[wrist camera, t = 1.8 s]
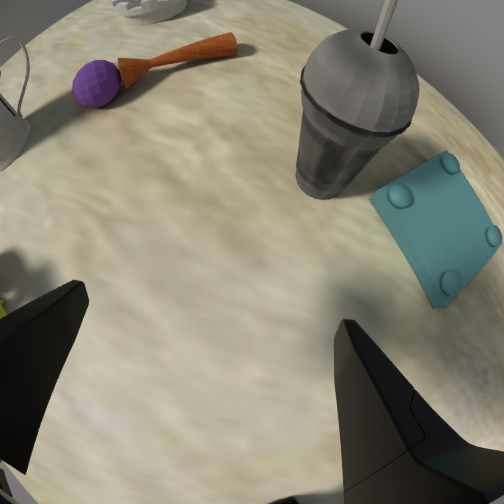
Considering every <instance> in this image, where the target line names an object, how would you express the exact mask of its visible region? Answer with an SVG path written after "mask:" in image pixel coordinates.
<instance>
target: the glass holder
mask: <svg viewBox="0 0 504 504" xmlns="http://www.w3.org/2000/svg"><path fill="white" fill-rule="evenodd" d="M10 39H15V40H17V41H18V42H19V43H20V44H21V46H22V49H23V51H24V54H25V58H26V77H25V81H24V85H23V89H22V93H21V96H20V100H19V104H18V110H17V111H18V113H17V112H16V111H15V110H14V109H13V107H12V106H11V105H10V104H9V103H8V102H7V100H6V99H5V98H4V97H3V96H2V95H1V93H0V171H2V170H4V169H6V168H7V167H8V166H9V165H10V164H11V163H12V162H13V161H14V160H15V159H16V158H17V157H18V155H19V154H20V153H21V151H22V150H23V148H24V146H25V144H26V142H27V140H28V138H29V135H30V131H31V124H30V122H29V121H28V120H26V119H23V118H21V117H23V116H22V114H21V113H20V109H21V104H22V100H23V96H24V93H25V89H26V85H27V82H28V78H29V69H30V65H29V57H28V53H27V49H26V47H25V45H24V44H23V42H22V41H21V40H20V39H19V38H17V37H14V36H12V37H8V38H6V39H4V40H2V41H1V42H0V45H1V44H2V43H4V42H5V41H7V40H10ZM0 76H1V71H0Z"/></svg>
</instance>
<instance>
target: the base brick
mask: <svg viewBox="0 0 504 504" xmlns="http://www.w3.org/2000/svg"><path fill="white" fill-rule="evenodd" d="M369 200H370V202H371V203H372V205H373V206H374V208H375V209H376V211H377V212H378V214H379V215H380V217H381V218H382V220H383V221H384V223H385V225H386V226H387V228H388V229H389V231H390V232H391V234H392V236H393V237H394V239H395V240H396V242H397V244H398V245H399V247H400V249H401V250H402V252H403V254H404V255H405V257H406V259H407V261H408V262H409V264H410V266H411V268H412V269H413V271H414V273H415V275H416V276H417V278H418V280H419V282H420V284H421V286H422V288H423V289H424V291H425V293H426V295H427V297H428V299H429V301H430V303H431V305H432V307H433V309H436V308H442V307H446V306H447V305H448V304H449V303H450V302H451V301H452V300H453V299H454V298H455V297H456V296H457V295H458V294H459V293H460V292H461V291H462V290H463V289H464V288H465V287H466V285H467V284H468V283H469V282H470V281H471V280H472V279H473V278H474V277H475V276H476V274H477V273H478V272H479V271H480V270H481V269H482V268H483V266H484V265H485V264H486V263H487V262H488V260H489V259H490V258H491V257H492V256H493V254H494V253H495V252H496V251H497V249H498V248H499V247H500V246H501V244H502V235H501V232H500V230H499V228H498V227H497V226H496V225H493V223H492V221H491V219H490V217H489V215H488V214H487V212H486V210H485V208H484V206H483V205H482V203H481V201H480V200H479V198H478V196H477V195H476V193H475V191H474V190H473V188H472V187H471V185H470V183H469V182H468V180H467V179H466V177H465V176H464V174H463V173H462V171H461V170H460V165H459V162H458V160H457V158H456V157H455V156H454V155H452V154H451V153H448V151H447V150H446V151H444V152H443V153H441V154H439V155H438V156H436V157H434V158H432V159H431V160H429V161H427V162H425V163H424V164H422V165H420V166H419V167H417V168H415V169H413V170H412V171H410V172H408V173H406V174H405V175H403V176H401V177H399V178H398V179H396V180H394V181H392V182H391V183H389V184H387V185H385V186H384V187H382V188H380V189H378V190H377V191H376V192H375V193H374V194H373V195H372V197H371V198H370V199H369Z"/></svg>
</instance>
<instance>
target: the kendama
mask: <svg viewBox="0 0 504 504" xmlns="http://www.w3.org/2000/svg"><path fill="white" fill-rule="evenodd" d="M236 53H237V42H236V38H235V36H234V35H233V33H231V32H229V33H226V34H222V35H218V36H215V37H211V38H208V39H205V40H202V41H199V42H195V43H192V44H189V45H187V46H184V47H181V48H178V49H175V50H173V51H170V52H167V53H165V54H162V55H160V56H157V57H155V58H152V59H150V60H146V59H129V58H118V66H119V70H118V69H117V67H116V66H115V65H114V64H113V63H111V62H108V61H106V60H95V61H92V62H90V63H88V64H86V65H85V66H83V67H82V68H81V69H80V70H79V71H78V73H77V74H76V76H75V78H74V80H73V89H72V92H73V96H74V98H75V99H76V100H77V101H78V102H79V104H80V105H83V106H86V107H88V108H95V107H101V106H103V105H105V104H108V103H109V102H110V101H111V100H112V99H113V98H114V97H115V96H116V94H117V92H118V91H119V89H120V84H121V79H122V81H123V83H124V85H125V87H126V89H127V88H128V87H129V86H130V85H132V84H133V83H134V82H135V81H136V80H137V79H138V78H140V77H141V76H142V75H143V74H144V73H146V72H147V71H148V70H149V69H150V68H152V67H157V66H162V65H167V64H173V63H179V62H185V61H191V60H198V59H206V58H214V57H224V56H235V55H236Z"/></svg>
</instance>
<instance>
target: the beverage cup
mask: <svg viewBox="0 0 504 504" xmlns="http://www.w3.org/2000/svg"><path fill="white" fill-rule="evenodd" d="M397 2H398V0H386V1H385V4H384V7H383V10H382V13H381V16H380V19H379V22H378V25H377V28H376V31H375V32H374V31H370V30H365V29H349V30H344V31H341V32H338V33H335V34H333V35H331V36H328V37H327V38H326V39H324V40H323V41H322V42H321V43H320V44H319V45H318V46H317V47H316V49H315V50H314V51H313V52H312V53H311V55H310V56H309V58H308V60H307V63H306V65H305V66H304V68H303V69H302V72H301V79H300V84H301V86H302V90H301V95H302V105H303V116H302V124H301V132H300V141H299V149H298V156H297V164H296V169H297V170H296V179H297V183H298V185H299V187H300V188H301V190H302V191H304V192H305V193H306V194H307V195H309V196H311V197H312V198H315V199H320V200H326V199H331V198H333V197H335V196H336V195H337V194H338V193H340V191H342V190H343V189H344V188H345V187H346V186H347V185H348V184H349V183H350V182H351V181H352V180H353V179H354V178H355V176H356V175H357V174H358V173H359V172H360V171H361V170H362V169H363V168H364V167H365V165H366V164H367V163H368V162H369V161H370V160H371V159H372V158H373V157H374V156H375V154H376V153H377V152H378V151H379V150H380V149H381V148H382V147H383V146H385V145H386V144H388V143H389V142H390V141H391V140H393V139H394V138H395V137H396V136H397V135H398V134H402V133H403V132H404V131H405V130H406V129H407V128H408V127H409V126H410V124H411V120H412V117H413V115H414V112H415V109H416V106H417V102H418V97H419V81H418V78H417V74H416V71H415V68H414V65H413V63H412V62H411V60H410V58H409V57H408V55H407V54H406V53H405V52H404V50H403V49H401V47H400V46H399V45H398V44H396V43H395V42H394V41H392V40H391V39H389V38H388V37H386V36H385V35H386V32H387V29H388V26H389V24H390V21H391V18H392V16H393V13H394V10H395V7H396V5H397Z"/></svg>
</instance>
